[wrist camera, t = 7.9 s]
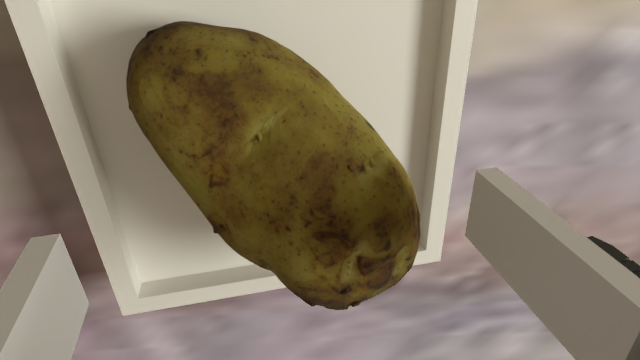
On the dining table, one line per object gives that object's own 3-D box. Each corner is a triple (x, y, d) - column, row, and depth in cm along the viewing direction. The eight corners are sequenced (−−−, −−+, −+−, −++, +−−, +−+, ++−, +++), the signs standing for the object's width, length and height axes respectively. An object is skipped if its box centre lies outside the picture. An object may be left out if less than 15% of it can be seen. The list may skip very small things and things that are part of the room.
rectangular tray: (134, 269, 26) (122, 315, 22) (18, -82, 17) (-29, -86, 13) (415, 225, 29) (440, 260, 25) (447, -94, 19) (492, -99, 16)
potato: (294, -55, 17) (348, -48, 10) (396, 186, 24) (469, 288, 17) (111, 44, 17) (42, 115, 10) (263, 253, 24) (282, 379, 17)
